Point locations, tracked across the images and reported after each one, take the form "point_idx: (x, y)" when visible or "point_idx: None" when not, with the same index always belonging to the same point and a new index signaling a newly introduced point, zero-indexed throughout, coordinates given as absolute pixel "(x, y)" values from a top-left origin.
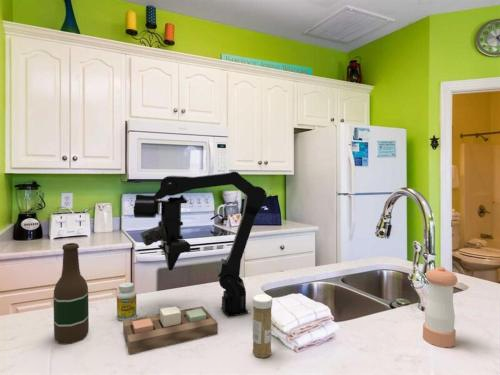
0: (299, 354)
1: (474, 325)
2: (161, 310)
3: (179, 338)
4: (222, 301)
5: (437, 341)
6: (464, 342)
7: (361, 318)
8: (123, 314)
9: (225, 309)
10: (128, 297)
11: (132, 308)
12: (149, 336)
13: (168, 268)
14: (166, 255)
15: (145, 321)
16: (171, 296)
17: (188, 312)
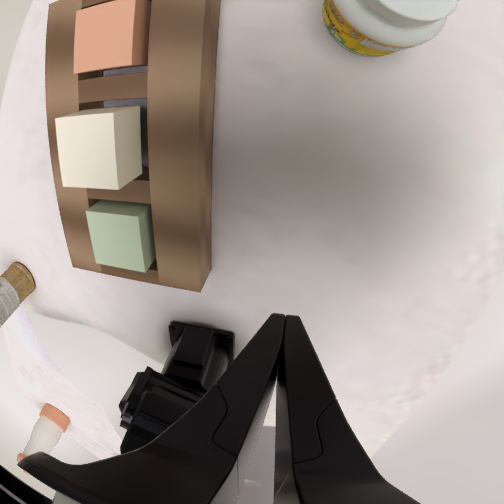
0: (23, 313)
1: (84, 443)
2: (98, 116)
3: None
4: (199, 350)
5: (45, 407)
6: None
7: (110, 424)
8: None
9: (183, 332)
10: None
11: (330, 20)
12: (50, 59)
13: (270, 321)
14: (230, 439)
15: (110, 45)
16: (449, 256)
17: (126, 222)
